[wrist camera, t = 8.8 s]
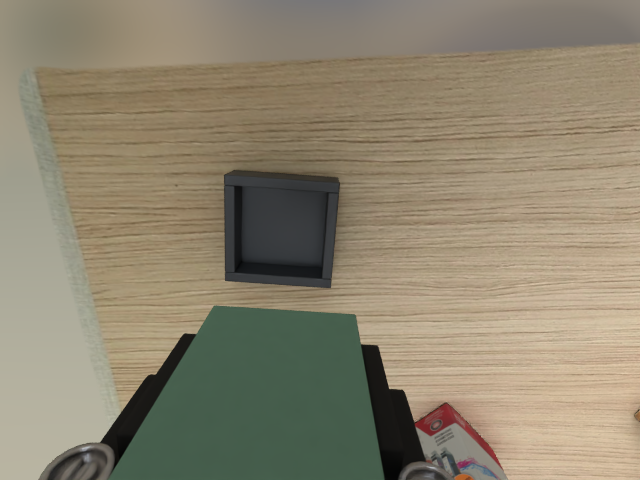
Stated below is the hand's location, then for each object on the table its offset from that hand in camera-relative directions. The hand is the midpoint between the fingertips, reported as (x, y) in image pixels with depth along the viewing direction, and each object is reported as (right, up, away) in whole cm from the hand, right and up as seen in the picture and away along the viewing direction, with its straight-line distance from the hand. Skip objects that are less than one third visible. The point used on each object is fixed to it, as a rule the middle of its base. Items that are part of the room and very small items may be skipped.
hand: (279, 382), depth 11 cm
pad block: (0, 0, +1) cm, 1 cm away
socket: (-2, +6, +20) cm, 21 cm away
